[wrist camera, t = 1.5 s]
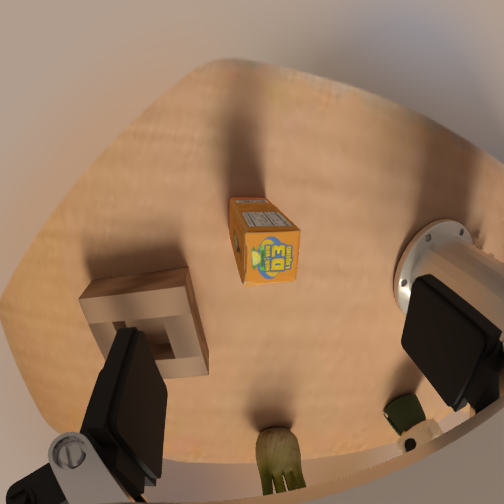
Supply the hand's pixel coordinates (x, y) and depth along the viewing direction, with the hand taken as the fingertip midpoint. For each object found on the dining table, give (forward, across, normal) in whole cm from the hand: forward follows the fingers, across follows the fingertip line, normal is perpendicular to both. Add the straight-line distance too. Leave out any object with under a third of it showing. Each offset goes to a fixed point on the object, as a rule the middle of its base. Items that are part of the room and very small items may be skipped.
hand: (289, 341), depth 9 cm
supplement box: (+17, -1, 0) cm, 17 cm away
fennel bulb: (+17, -1, +32) cm, 36 cm away
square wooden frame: (+17, +10, +9) cm, 22 cm away
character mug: (+16, -22, +34) cm, 44 cm away
